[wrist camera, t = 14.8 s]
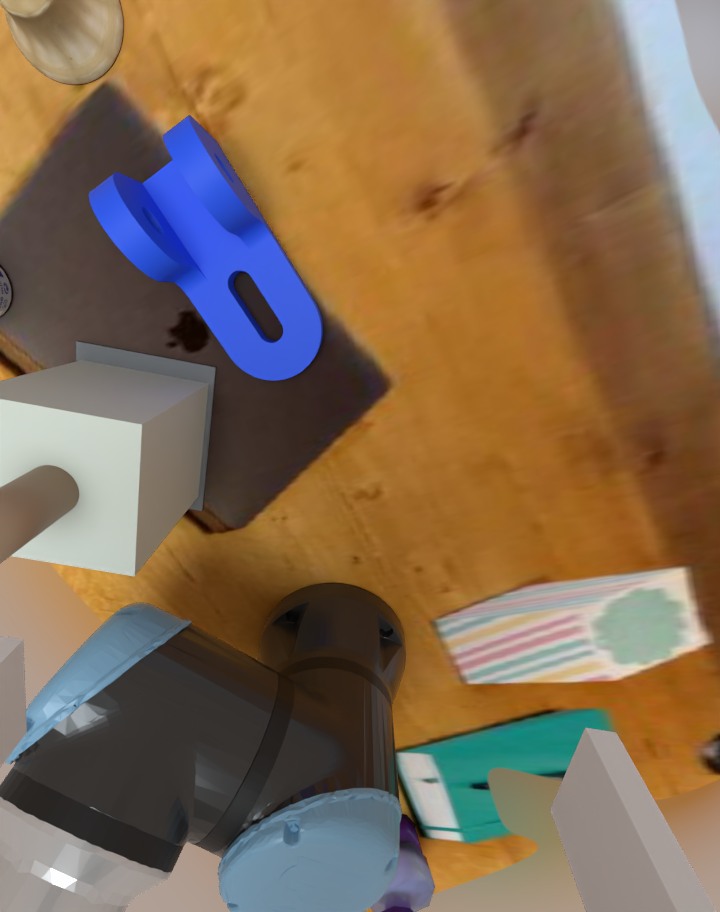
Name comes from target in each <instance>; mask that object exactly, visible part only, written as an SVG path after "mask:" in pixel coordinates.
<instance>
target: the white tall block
mask: <svg viewBox="0 0 720 912" xmlns="http://www.w3.org/2000/svg"><path fill="white" fill-rule="evenodd" d="M207 394H208V383H203V382H198V381H192V380H187V379H182V378H176V377H171V376H165V375H160V374H155V373H149V372H144V371H139V370H133V369H128V368H123V367H117V366H112V365H107V364H101V363H96V362H90V361H85V360H80V361H76V362H72V363H68V364H65V365H61V366H57V367H53V368H49V369H45V370H41V371H38V372H34V373H30V374H26V375H22V376H18V377H14V378H10V379H7V380H3V381H0V563H2V562H3V561H4V560H6V559H7V558H8V557H10V556H15V557H21V558H27V559H33V560H39V561H45V562H51V563H57V564H63V565H69V566H75V567H81V568H87V569H93V570H99V571H105V572H111V573H117V574H123V575H129V576H135V575H136V574H137V573H138V571H139V570H140V569H141V568H142V566H143V565H144V564H145V563H146V561H147V560H148V559H149V558H150V556H151V555H152V554H153V553H154V551H155V550H156V549H157V548H158V546H159V545H160V544H161V543H162V541H163V540H164V539H165V538H166V536H167V535H168V534H169V533H170V531H171V530H172V529H173V527H174V526H175V525H176V524H177V522H178V521H179V520H180V519H181V517H182V516H183V515H184V514H185V512H186V511H187V510H188V509H189V507H190V506H191V505H192V504H193V502H194V501H195V500H196V499H197V497H198V493H199V482H200V471H201V460H202V449H203V438H204V427H205V416H206V405H207Z"/></svg>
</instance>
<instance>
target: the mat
mask: <svg viewBox="0 0 720 912" xmlns="http://www.w3.org/2000/svg"><path fill="white" fill-rule="evenodd" d="M80 360H85V361H90V362H96V363H101V364H107V365H112V366H117V367H123V368H128V369H133V370H139V371H144V372H149V373H155V374H160V375H165V376H171V377H176V378H182V379H187V380H192V381H198V382H203V383H208V394H207V405H206V416H205V427H204V438H203V449H202V460H201V471H200V482H199V493H198V497H197V499H196V500H195V501H194V502H193V504H192V505H191V506H190V507H189V509H192V510H197V511H203V504H204V493H205V483H206V472H207V462H208V451H209V440H210V430H211V419H212V409H213V398H214V387H215V377H216V367H214V366H209V365H203V364H198V363H193V362H187V361H182V360H177V359H171V358H166V357H161V356H155V355H150V354H145V353H139V352H134V351H129V350H123V349H118V348H113V347H107V346H102V345H97V344H91V343H86V342H81V341H76V361H80Z"/></svg>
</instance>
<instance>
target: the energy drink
mask: <svg viewBox="0 0 720 912" xmlns="http://www.w3.org/2000/svg"><path fill="white" fill-rule="evenodd" d="M10 301H11V287H10V283H9V280H8V278H7V276H6V274H5V273H4V271H3V270H2V269H1V267H0V316H1V315H3V314H4V313H5V311H6V310H7V309H8V307H9V305H10Z"/></svg>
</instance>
